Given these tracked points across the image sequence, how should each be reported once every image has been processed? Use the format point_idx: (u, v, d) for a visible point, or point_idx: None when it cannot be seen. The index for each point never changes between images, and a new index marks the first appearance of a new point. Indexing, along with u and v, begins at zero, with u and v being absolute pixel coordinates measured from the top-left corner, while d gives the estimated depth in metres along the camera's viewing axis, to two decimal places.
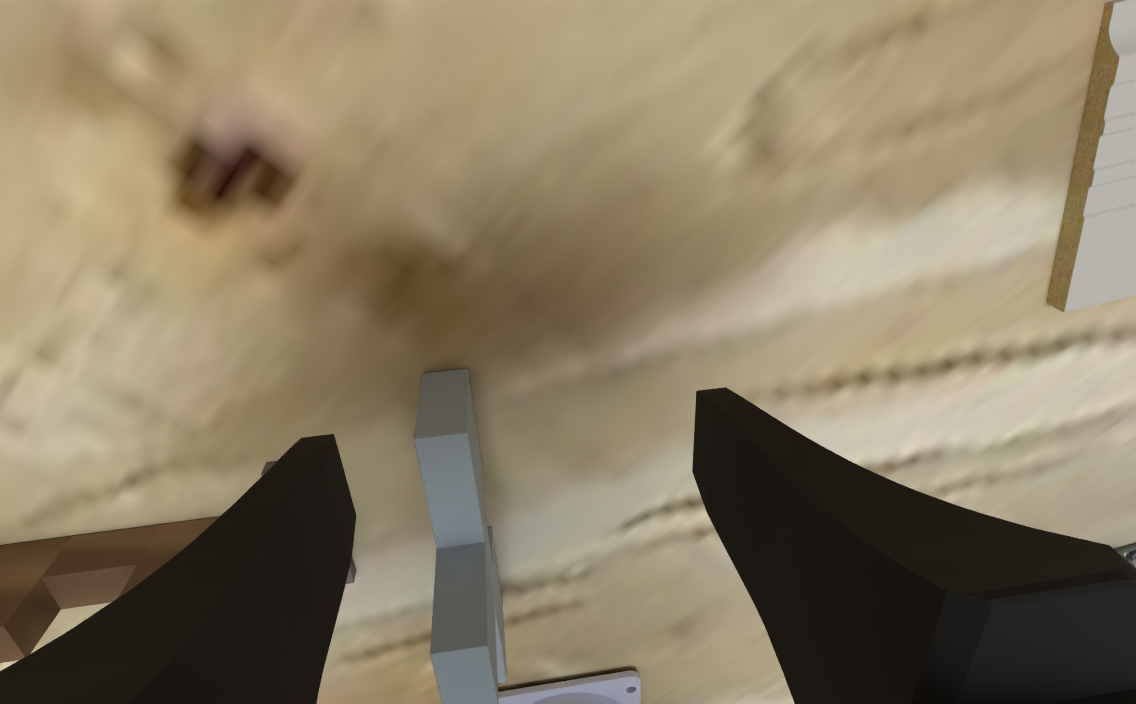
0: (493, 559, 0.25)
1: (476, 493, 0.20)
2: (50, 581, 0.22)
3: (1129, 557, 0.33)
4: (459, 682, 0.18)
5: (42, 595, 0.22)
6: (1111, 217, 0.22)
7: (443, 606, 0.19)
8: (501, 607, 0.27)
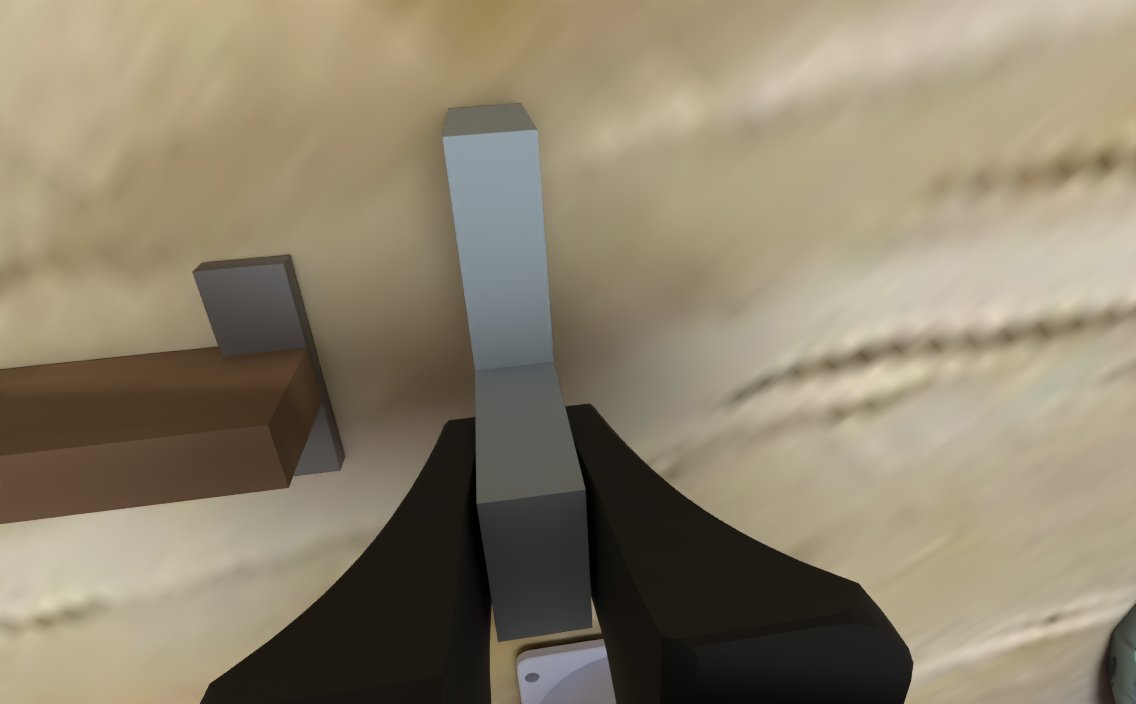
0: None
1: (545, 264, 0.12)
2: None
3: None
4: (527, 567, 0.10)
5: None
6: None
7: (494, 438, 0.11)
8: None
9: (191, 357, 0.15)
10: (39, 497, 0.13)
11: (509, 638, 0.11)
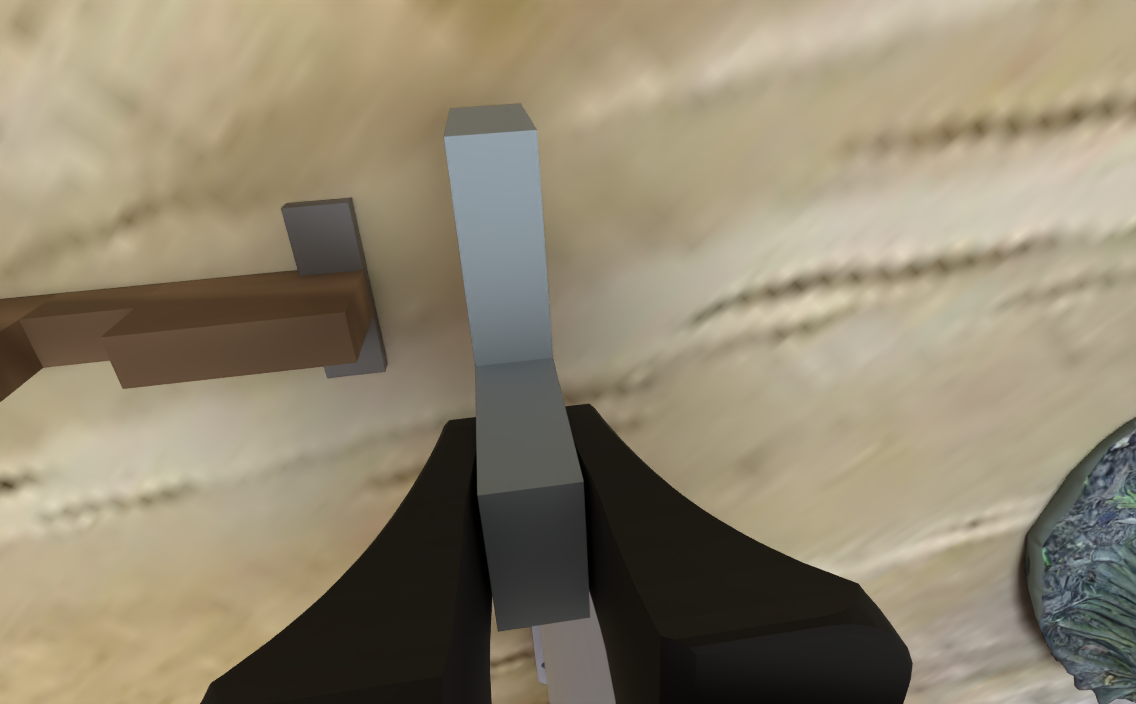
0: None
1: (544, 262, 0.12)
2: (30, 325, 0.18)
3: None
4: (526, 558, 0.10)
5: (20, 340, 0.18)
6: None
7: (494, 432, 0.11)
8: None
9: (276, 277, 0.20)
10: (180, 365, 0.18)
11: (509, 628, 0.11)
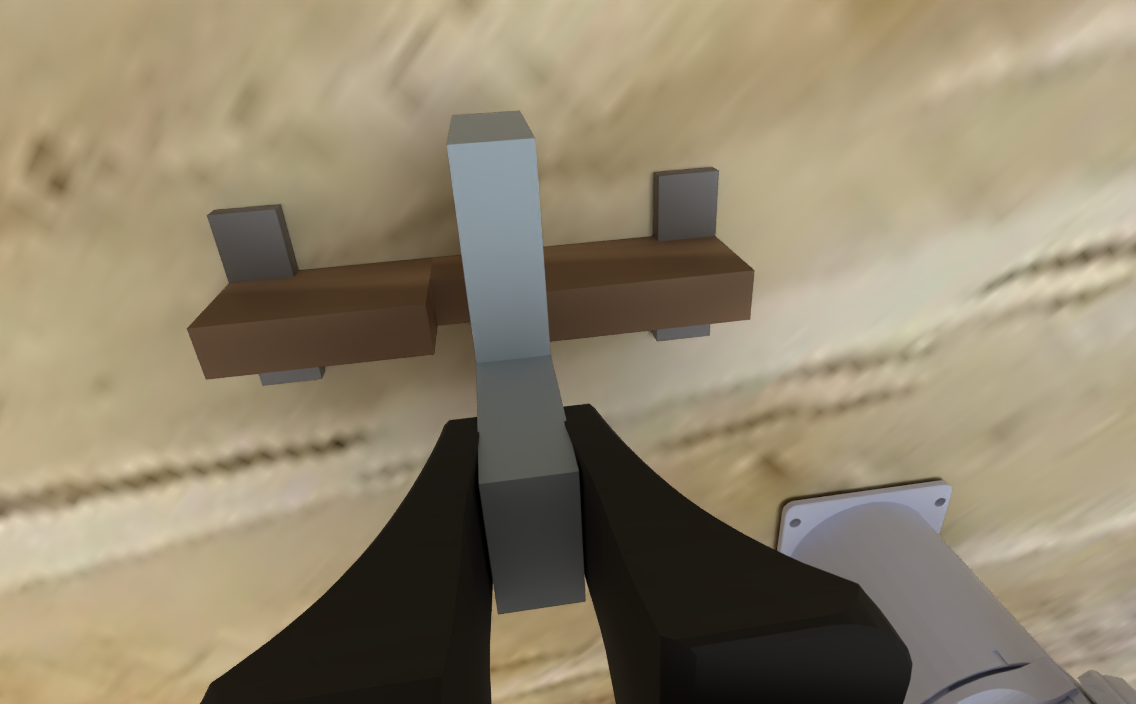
0: None
1: (542, 263, 0.13)
2: (438, 285, 0.20)
3: None
4: (525, 544, 0.11)
5: (431, 298, 0.19)
6: None
7: (494, 425, 0.11)
8: None
9: (635, 242, 0.21)
10: (598, 320, 0.19)
11: (508, 611, 0.11)
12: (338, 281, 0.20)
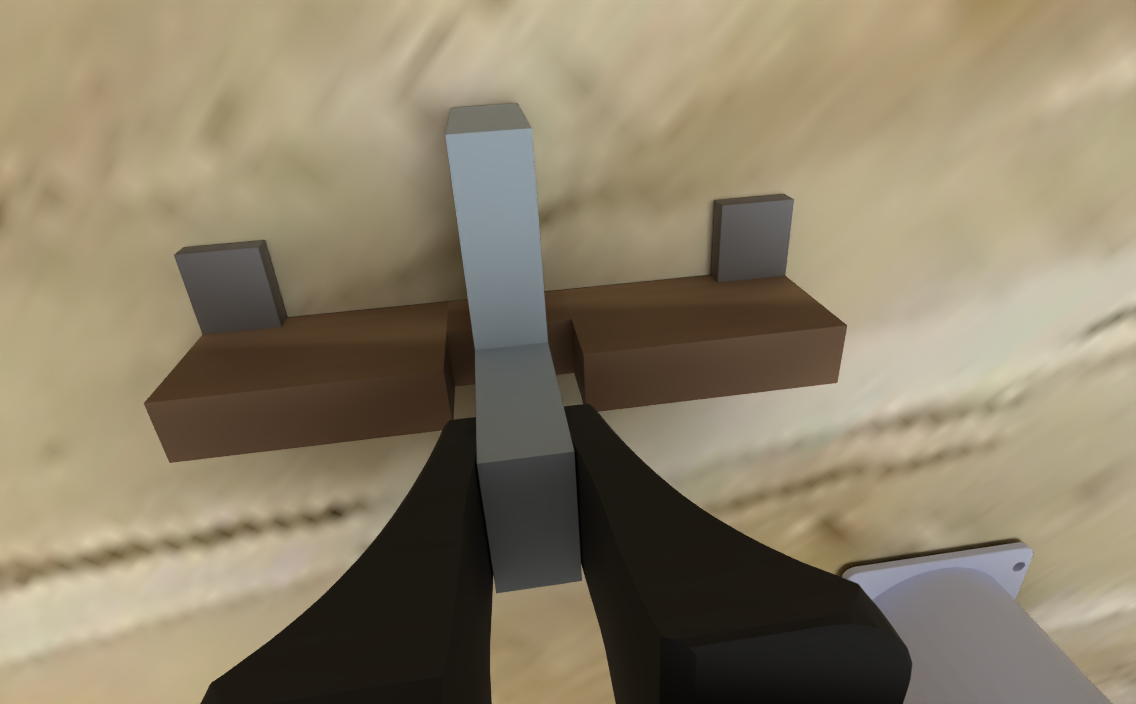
0: None
1: (539, 251, 0.13)
2: (456, 339, 0.16)
3: None
4: (522, 523, 0.11)
5: (448, 355, 0.16)
6: None
7: (492, 408, 0.12)
8: None
9: (690, 283, 0.18)
10: (655, 385, 0.15)
11: (506, 590, 0.12)
12: (334, 334, 0.16)
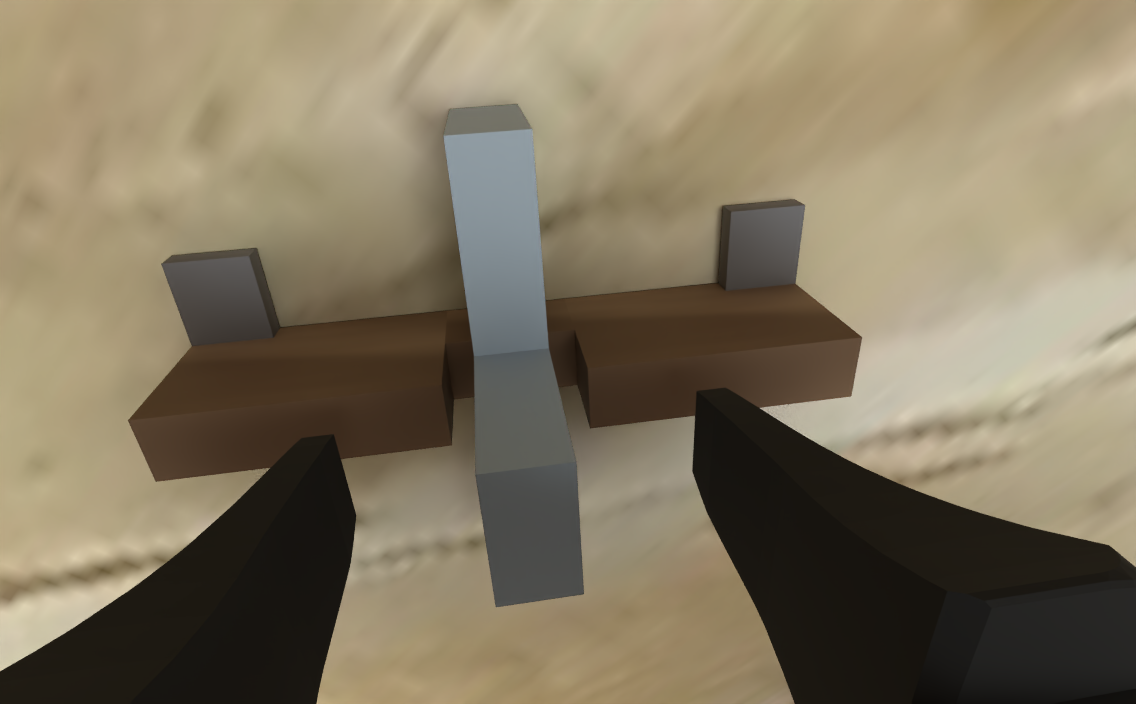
0: None
1: (540, 255, 0.13)
2: (455, 350, 0.15)
3: None
4: (522, 535, 0.11)
5: (447, 368, 0.15)
6: None
7: (492, 417, 0.11)
8: None
9: (697, 292, 0.17)
10: (662, 400, 0.15)
11: (506, 604, 0.11)
12: (328, 345, 0.16)
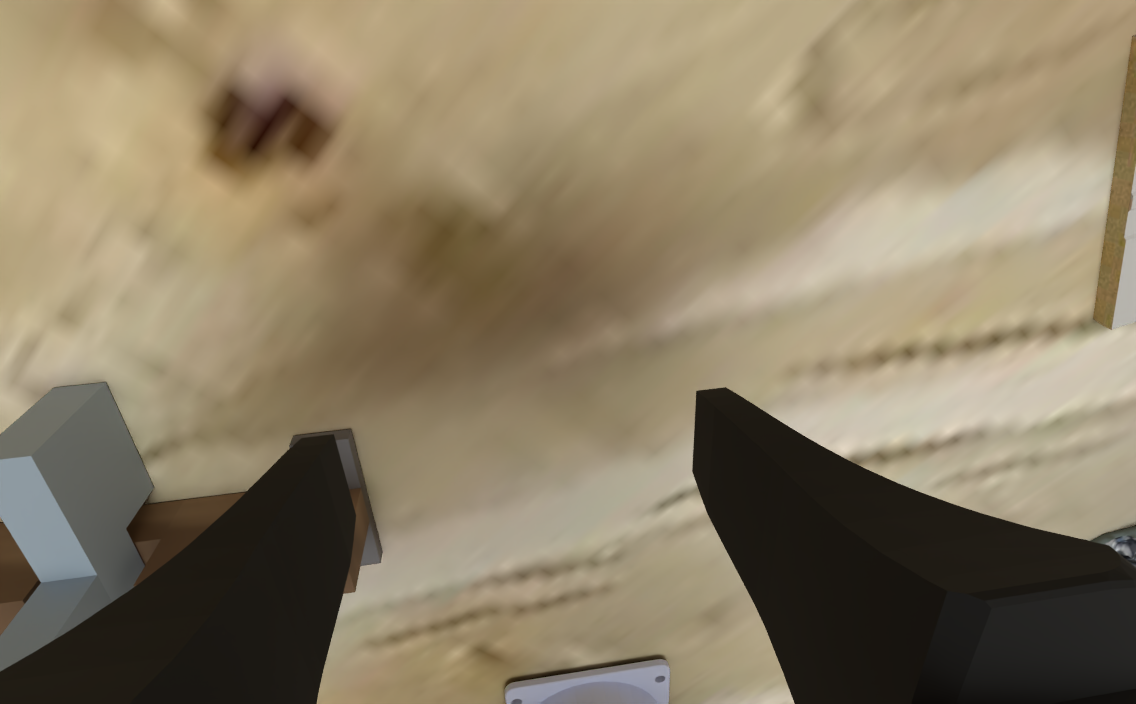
0: None
1: (69, 522, 0.18)
2: None
3: None
4: None
5: None
6: None
7: None
8: None
9: None
10: None
11: None
12: None
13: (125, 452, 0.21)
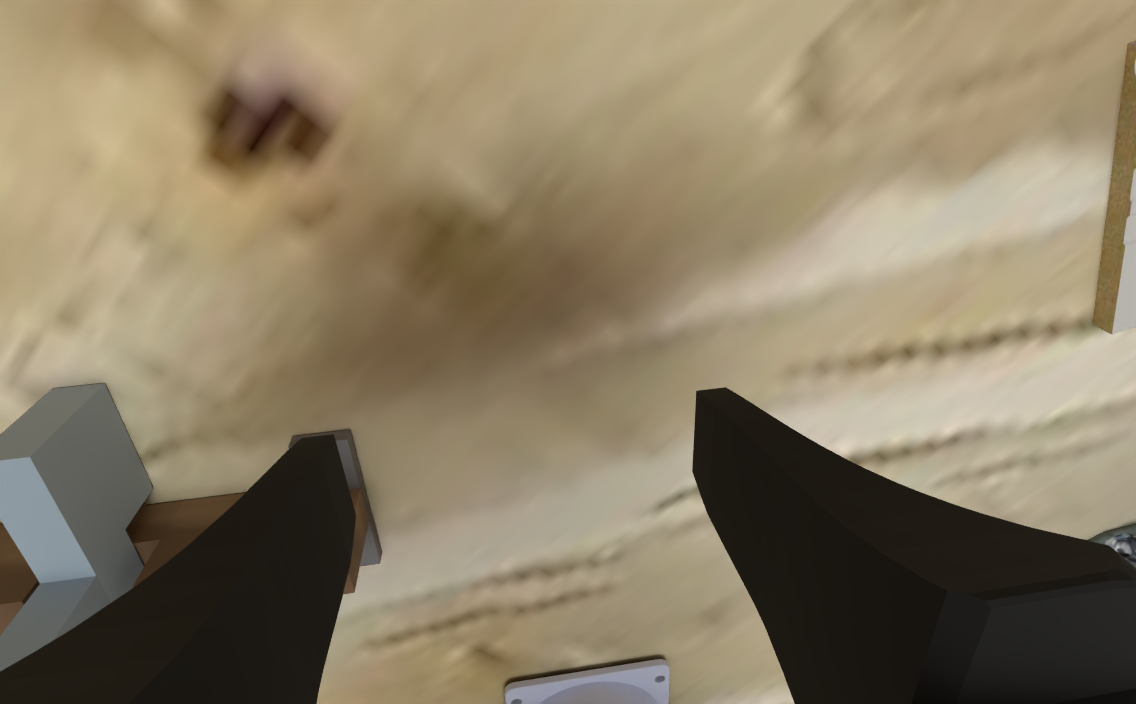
0: None
1: (68, 523, 0.18)
2: None
3: None
4: None
5: None
6: None
7: None
8: None
9: None
10: None
11: None
12: None
13: (124, 453, 0.21)
